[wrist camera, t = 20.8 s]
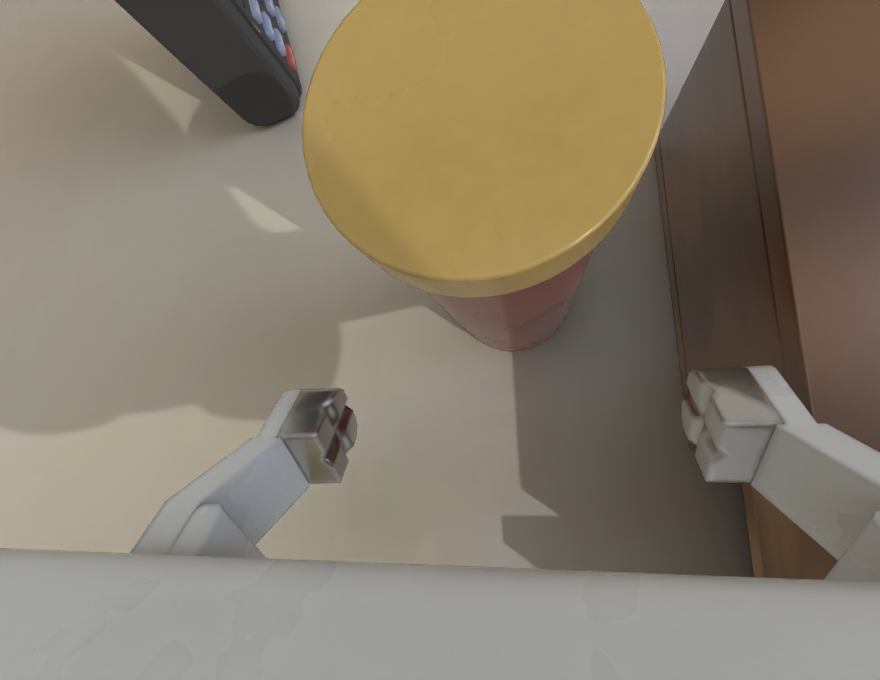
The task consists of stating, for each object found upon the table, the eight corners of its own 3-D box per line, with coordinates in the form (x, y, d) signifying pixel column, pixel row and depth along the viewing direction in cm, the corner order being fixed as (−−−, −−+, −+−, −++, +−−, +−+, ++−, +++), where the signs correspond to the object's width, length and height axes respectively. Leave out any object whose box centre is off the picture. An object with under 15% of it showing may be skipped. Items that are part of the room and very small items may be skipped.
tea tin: (538, 216, 20) (550, -132, 7) (598, 321, 19) (752, 155, 6) (433, 273, 21) (255, 61, 8) (484, 377, 20) (380, 347, 6)
